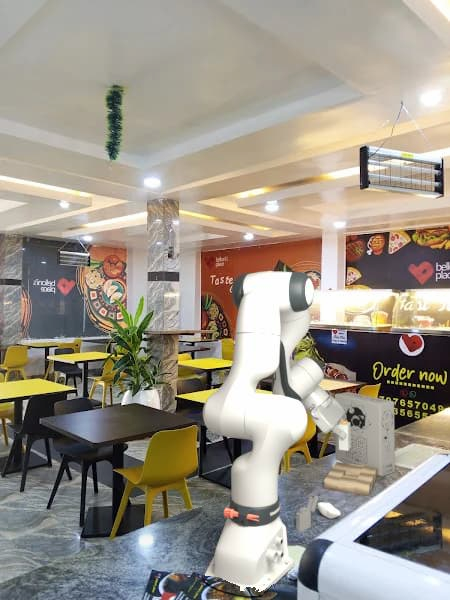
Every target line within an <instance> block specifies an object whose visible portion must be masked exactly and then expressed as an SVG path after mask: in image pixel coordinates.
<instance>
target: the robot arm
mask: <svg viewBox="0 0 450 600" xmlns="http://www.w3.org/2000/svg"><path fill="white" fill-rule="evenodd" d="M231 285H232V287H231V299H232V302H233V304H234V305H235V307H236V309H238V312H237V317H236V323H235V324H236V325H235V331H234V332H235V334H234V335H235V336H234V348H233V358H232V364H231V367H230V370H229V373H228V375H227V377H226V379H225V380H224V382H223V383H222V385H221V386H220V387H219V388H218V389H217V390H216V391H214V392H213V393H211V395H209V396H208V397H207V399H206V401H204V402H205V403H204V404H203V409H202V418H203V422H204V425H205V427H206V429H207V430H208V431H210V432H212V433H215V434H216V435H220V436H223V437H227V438H234V439H242V440H250V441H251V442H252V450H251V451H248V452H246V453H244V454H241V455H240V456H239V457H237V458H235V460H234V461H233V462H232V466H231V469H230V471H231V473H230V474H231V475H230V476H231V477H230V479H231V480H230V481H231V484H230V485H231V489H230V490H231V495H230V497H229V502H228V506H227V507H225V508H224V511H223V516H224V518H227V519H226V521H225V524H224V526H223V528H222V531H221V534H220V537H219V539H218V542H217V544H216V548H215V551H214V556H213V558H212V559H211V561H210V563H209V565H208V567H207V569H206V570H205V573H204V575H205V576H216V577H220V578H222V579H223V580H226V581H228V582H230V583H233V584H236V585H238V586H240V591H245V590H244V589H245V588H246V587H251V588H253V587H255V588H256V590H258V589H259V591H258V592H261V591H263V590H265V589H266V588H268V587H269V586H271V585H273V584H274V585H275V584H276V583H277V582H279V580H281V579H282V578H283V577H284V576H285V575H286V574H287V573H288V572H289V571H290V570H291V569H292V568H293V567H294V566H295V561H294V559H293V558H292V557H291V556H290V555H289V550H288V537H287V536H288V535H287V527H286V525H285V524H284V522H283V521H282V519H281V516H280V515H281V499H280V496H279V489H278V488H279V486H278V485H279V472H280V465H281V461H282V459H283V456H284V455H285V453H286V452H287V451H288V449H290V447H291V446H293V445H294V444H296V443H297V442H299V441H300V440H301V438H303V436H304V435H305V433H306V432H307V431H306V430H307V428H308V414H309V415H310V418H311V420H312V421H313V422H314V423H315V425H316V426H317V427H318V428H319V430H320V431H321V432H322V433H323V434H325V435H327V434H328V433H329V432H331V431H332V432H333V433H336V434H338V435H339V436H340V437H341V438H344V437H345V436H346V435H347V433H346V432H345V431H344V430H342V429H340V428H339V426H338V425H339V424H340V422H342V421H343V419H342V416H343V415H344V414H345V411H344V409H343V408H342V407H341V406H340V404H339V403H338V402H337V401H336V400H335V397H333V396H332V392H330V390H328V389H324V388H323V387H321V386H320V383H321V382H322V381H323V380H324V378H325V368H324V366H323V365H322V363H321V362H320V361H319V360H318V359H316V357H315V358H314V357H312V356H304V357H302V358H300V359H296V360H294V359H291V356H292V354H293V352H294V350H295V348H296V347H297V346H298V344H299V343H300V342H301V341H302V339H303V338H304V337H305V336H306V334H307V333H308V331H309V330H310V327H311V312H310V311H311V310H310V307H311V306H312V304H313V300H314V296H315V287H314V283H313V279H312V278H311V276H309V274H307V273H306V272H303V271H302V272H301V271H279V270H278V271H273V270H267V271H257V272H253V273H251V272H246V273H242V274H239V275H237V277H236V278H235V279H234V280H233V282H232V284H231ZM269 376H271V379H272V380H271V393H272V394H271V393H259V392H256V391H257V386H258V384H259V382H260V381H261V380H263V379H266V378H268V377H269ZM337 424H338V425H337ZM274 585H273V586H274ZM256 590H255V591H256Z"/></svg>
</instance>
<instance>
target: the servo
mask: <svg viewBox="0 0 450 600" xmlns="http://www.w3.org/2000/svg"><path fill="white" fill-rule="evenodd" d="M338 426H339V428H340V429H342V430H344V431H345V432H346V433H347V435H346V436H345V437H344V438H341V437H340V436H339V450H346V451H349V449H350V447H351V430H350V422H347V421H345V420H343V421H342V422H340V424H339V425H338Z"/></svg>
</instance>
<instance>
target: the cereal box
mask: <svg viewBox="0 0 450 600" xmlns="http://www.w3.org/2000/svg"><path fill="white" fill-rule="evenodd" d="M334 399H335V400H336V401H337V402H338V403H339V404H340V406H341V407H342V408H343V409H344V411H345V414H344V415H343V416H342V419H343V420H345V421H347V422H350V430H351V447H350V449H349V451H346V450H339V435H338V434H336V433H335V432H334V433H335V435H334V437H335V438H334V439H335V460H337V461H338V462H339V461H340V462H341V463H347V464H355V465H362V466H370V467H377V468H378V477H383V476H386V475H390V474H394V473H395V472H396V460H395V459H396V454H395V452H396V451H395V450H396V449H395V446H396V445H395V444H396V443H395V441H396V440H395V439H396V438H395V401H393V400H388V399H382V398H379V397H375V396H370V395H364V394H360V393H354V392H350V391H347V392H346V391H345V392H341V393H335V394H334ZM337 425H338V424H337Z"/></svg>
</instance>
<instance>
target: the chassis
mask: <svg viewBox="0 0 450 600" xmlns="http://www.w3.org/2000/svg"><path fill="white" fill-rule="evenodd" d="M378 477H379V476H378V468H377V467H370V466H362V465H355V464H347V463H344V462H341V461H340V462H339V461H337V462H336V463H335V464H334V465H333V466H332V467H331V470H330V471H329V472H328V474H327V475H326V477H325V478H324V482H323V483H324V490H329V491H335V492H343V493H348V494H354V495H355V494H356V495H361V496H367V497H370V495H371V493H372V491H373V489H374V486H375V484H376V482H377V479H378Z"/></svg>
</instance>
